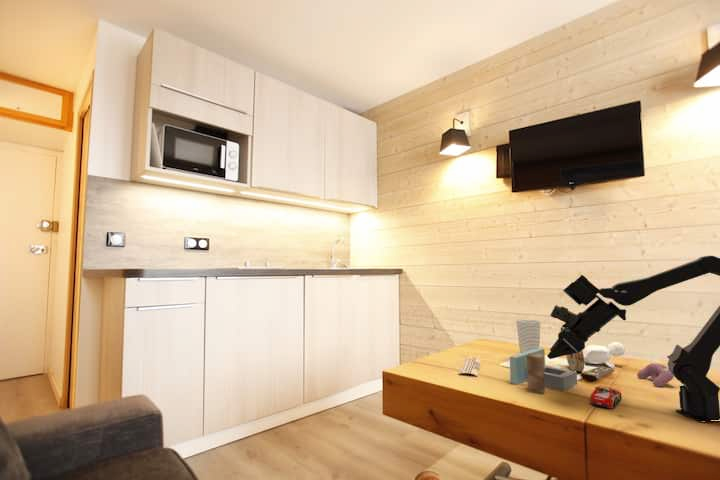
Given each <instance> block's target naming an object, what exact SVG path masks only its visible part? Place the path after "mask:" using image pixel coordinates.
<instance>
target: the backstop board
mask: <svg viewBox="0 0 720 480" xmlns="http://www.w3.org/2000/svg"><path fill="white" fill-rule="evenodd" d="M528 353H532V354H541V355H543V358H544V366H546V356H545V355H546V353H545V348H540V347H539V348H537V349H533V350H530V351H527V352H523V353H520V352H519V353H517V354H514V355H510V356H509V375H510V376H509V377H510V384H512V385H517V386H518V385H521V384H522V383H524V382H528V377H527V354H528Z"/></svg>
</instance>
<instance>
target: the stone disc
mask: <svg viewBox="0 0 720 480" xmlns="http://www.w3.org/2000/svg"><path fill="white" fill-rule="evenodd" d="M565 356H566V360H567V364H568V366H569V369H570V370H571V369H572V370H573V371H581V372H583V371H584V369H585V365H584V356H583V350H582V351H581V352H578V353H573V354H569V355H565ZM572 370H571V371H572Z"/></svg>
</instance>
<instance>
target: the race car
mask: <svg viewBox="0 0 720 480" xmlns="http://www.w3.org/2000/svg"><path fill="white" fill-rule="evenodd" d="M622 396H623V395H622V392H620V391H619V390H617V389H614V388H611V387H607V386H601V385H599V386H595V387H594V390H593V391H592V393H591V394H590V397H589V403H590V404H591V405H593V406H599V407H603V408H607V409H608V408H609V409H615V408H616V406H617V405H618V404H619V402H620V401H621V400H622Z"/></svg>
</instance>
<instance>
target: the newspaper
mask: <svg viewBox="0 0 720 480" xmlns="http://www.w3.org/2000/svg"><path fill="white" fill-rule="evenodd" d="M481 365H482V359H481V358H479V357H475V356H470V357H468V356H467V357H466V358H465V359H464V361H463V363H462V365H461V367H460V369H459V371H458V375H459V376H461V375H462V374H471V375H474V376H475V377H478V375H479V372H480V368H481Z"/></svg>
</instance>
